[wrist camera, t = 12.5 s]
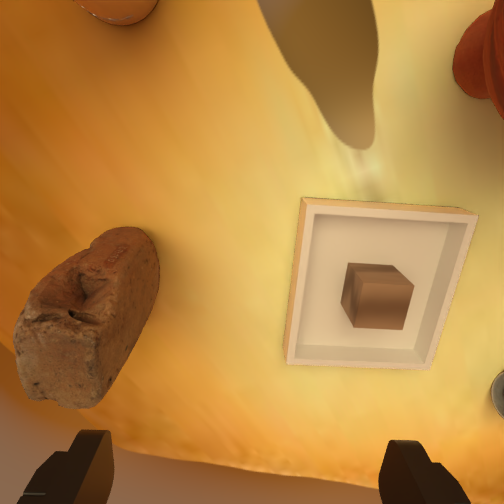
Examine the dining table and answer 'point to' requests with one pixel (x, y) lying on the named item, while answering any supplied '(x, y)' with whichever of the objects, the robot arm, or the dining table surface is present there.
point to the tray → (372, 252)
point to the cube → (376, 296)
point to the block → (86, 319)
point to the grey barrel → (498, 394)
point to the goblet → (483, 57)
